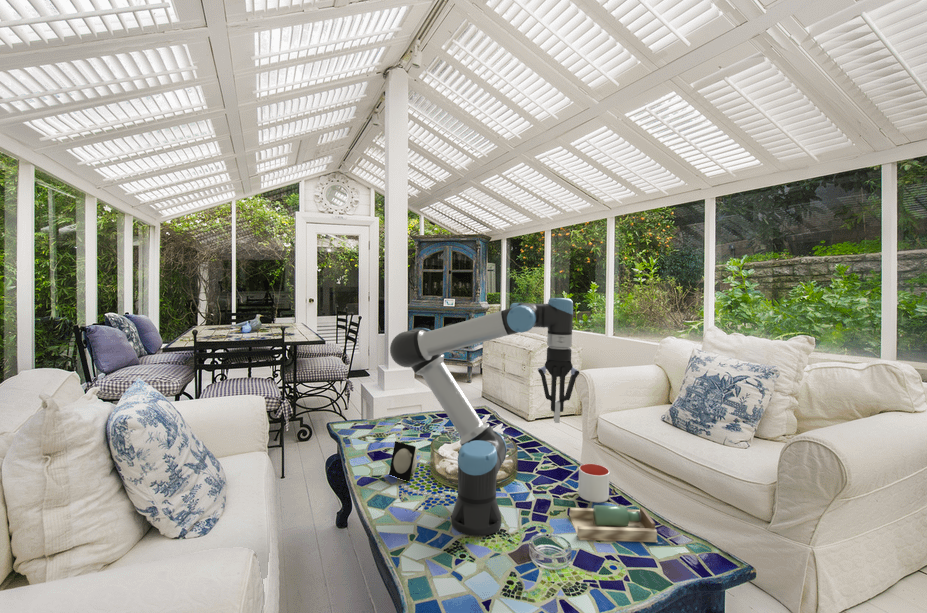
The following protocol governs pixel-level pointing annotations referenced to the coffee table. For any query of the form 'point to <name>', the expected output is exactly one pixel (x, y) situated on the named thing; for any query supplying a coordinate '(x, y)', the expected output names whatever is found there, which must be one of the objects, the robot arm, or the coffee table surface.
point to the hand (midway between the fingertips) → (556, 421)
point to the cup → (593, 482)
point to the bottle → (614, 515)
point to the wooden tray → (613, 527)
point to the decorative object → (403, 461)
